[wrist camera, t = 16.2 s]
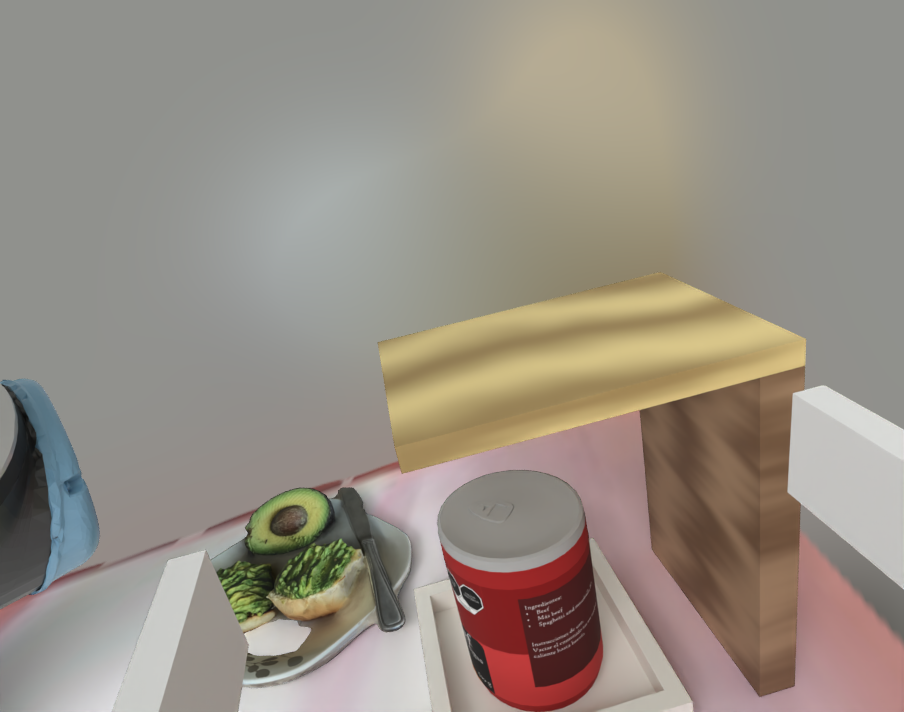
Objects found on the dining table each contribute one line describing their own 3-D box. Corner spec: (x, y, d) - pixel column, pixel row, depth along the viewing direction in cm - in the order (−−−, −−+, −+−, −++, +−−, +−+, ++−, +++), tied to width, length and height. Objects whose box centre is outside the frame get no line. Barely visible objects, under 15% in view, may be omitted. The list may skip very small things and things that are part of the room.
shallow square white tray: (694, 728, 31) (692, 701, 30) (450, 805, 30) (442, 779, 29) (596, 559, 43) (593, 537, 42) (419, 610, 42) (413, 589, 41)
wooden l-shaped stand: (794, 685, 32) (806, 338, 24) (487, 783, 30) (394, 447, 23) (678, 541, 43) (660, 271, 35) (448, 607, 41) (377, 342, 34)
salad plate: (484, 569, 45) (473, 520, 43) (280, 766, 34) (254, 711, 32) (336, 492, 58) (323, 452, 56) (155, 615, 47) (132, 570, 45)
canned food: (486, 603, 41) (455, 468, 36) (607, 610, 38) (589, 467, 34) (458, 708, 34) (416, 559, 30) (602, 726, 31) (578, 565, 27)
